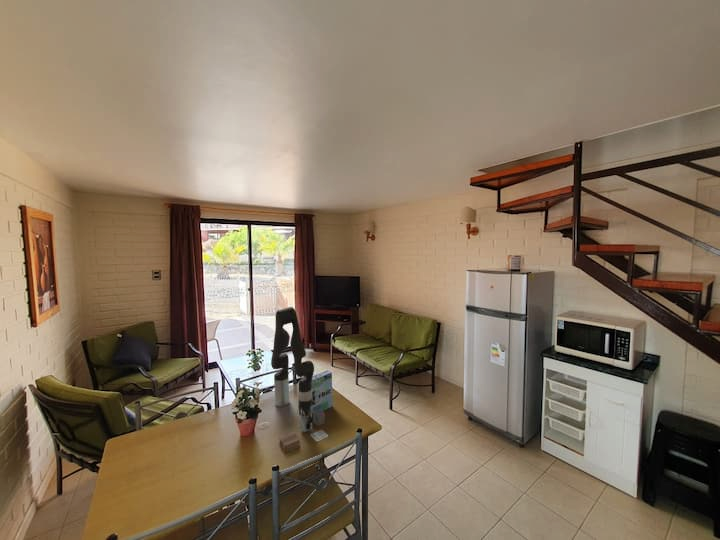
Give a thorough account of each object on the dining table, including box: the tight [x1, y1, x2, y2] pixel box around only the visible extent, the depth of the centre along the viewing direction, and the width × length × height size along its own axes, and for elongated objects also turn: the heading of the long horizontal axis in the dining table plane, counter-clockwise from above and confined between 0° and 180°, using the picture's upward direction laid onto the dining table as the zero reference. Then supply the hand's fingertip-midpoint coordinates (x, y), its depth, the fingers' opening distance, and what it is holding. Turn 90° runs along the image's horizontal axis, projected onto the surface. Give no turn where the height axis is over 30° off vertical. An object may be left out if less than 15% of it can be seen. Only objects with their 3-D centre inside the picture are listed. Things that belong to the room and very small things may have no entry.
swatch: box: [310, 429, 329, 443], centre depth 156 cm, size 7×7×1 cm
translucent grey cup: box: [312, 410, 326, 427], centre depth 168 cm, size 5×5×6 cm
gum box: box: [310, 370, 334, 413], centre depth 180 cm, size 20×5×23 cm, turn 134°
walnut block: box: [278, 431, 301, 453], centre depth 149 cm, size 8×8×4 cm
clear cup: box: [299, 416, 313, 433], centre depth 160 cm, size 5×5×6 cm
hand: (306, 426), depth 160 cm, fingers closed on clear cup, 5 cm apart
